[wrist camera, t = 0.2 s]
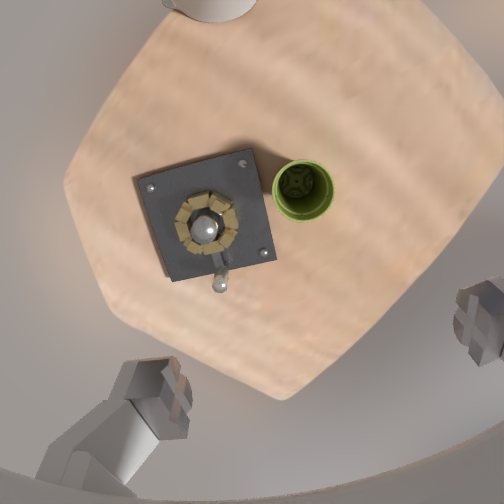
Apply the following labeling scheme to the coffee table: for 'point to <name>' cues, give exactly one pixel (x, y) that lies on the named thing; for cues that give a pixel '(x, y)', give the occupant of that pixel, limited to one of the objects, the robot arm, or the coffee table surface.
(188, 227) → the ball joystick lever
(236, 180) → the flange plate
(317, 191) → the plant pot
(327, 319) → the coffee table surface
